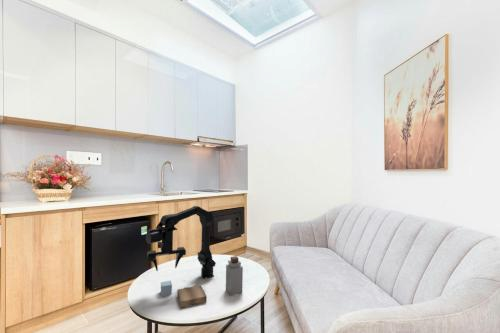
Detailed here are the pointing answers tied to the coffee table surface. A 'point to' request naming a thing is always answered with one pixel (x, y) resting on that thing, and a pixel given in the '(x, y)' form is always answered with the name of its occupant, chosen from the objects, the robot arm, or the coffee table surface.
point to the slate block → (166, 288)
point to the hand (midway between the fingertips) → (166, 269)
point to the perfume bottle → (234, 276)
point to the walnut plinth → (191, 296)
